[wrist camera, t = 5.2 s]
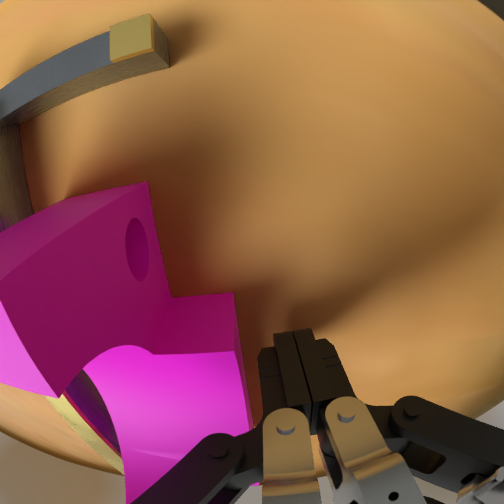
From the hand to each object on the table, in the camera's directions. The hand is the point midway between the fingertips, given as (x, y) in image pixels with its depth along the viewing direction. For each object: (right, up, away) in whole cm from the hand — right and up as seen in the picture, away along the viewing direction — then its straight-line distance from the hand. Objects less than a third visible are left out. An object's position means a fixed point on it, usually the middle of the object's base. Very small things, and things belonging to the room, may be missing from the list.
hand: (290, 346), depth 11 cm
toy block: (-5, 0, +2) cm, 5 cm away
